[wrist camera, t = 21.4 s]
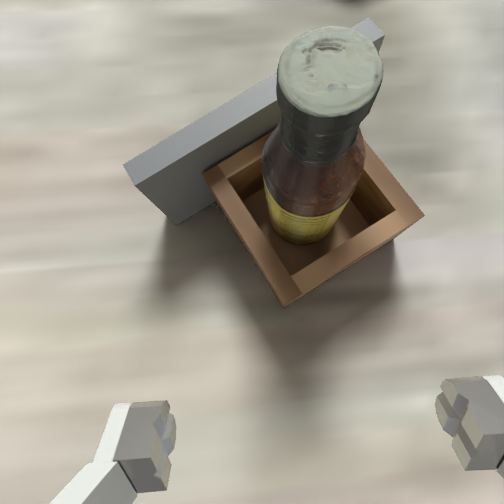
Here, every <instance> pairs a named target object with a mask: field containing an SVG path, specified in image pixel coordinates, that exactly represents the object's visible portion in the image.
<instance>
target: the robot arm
mask: <svg viewBox="0 0 504 504" xmlns="http://www.w3.org/2000/svg"><path fill="white" fill-rule="evenodd" d="M440 387H441V389H442V391H443V392H442V393H441V394H439V395H438V396H437V398H436V402H435V407H436V414H437V417H438V420H439V422H440V424H441V426H442V428H443V430H444V431H446V432H447V433H448V434H450V435H451V436H452V437H453V440H452V447H453V449H454V451H455V453H456V455H457V457H458V459H459V461H460V462H461V464H462V466H463V468H464V470H465V471H469V470H496V469H498V470H497V472H498V473H499V474H500V475H501V476H502V477H503V478H504V378H503V377H501V376H499V375H492V376H481V377H479V376H475V377H465V378H454V379H445V380H444V381H442V384H441V386H440ZM169 410H170V405H169V403H168V401H167V400H165V401H150V402H131V403H118V404H115V406H114V407H113V409H112V410H111V413H110V416H109V419H108V421H107V424H106V427H105V430H104V432H103V435H102V438H101V440H100V443H99V446H98V449H97V451H96V454H95V457H94V460H93V462H92V463H87V464H86V465H85V466H84V467H83V468H82V469H81V471H80V472H79V473H78V474H77V475H76V476H75V477H74V478H73V479H72V480H71V481H70V482H69V483H68V484H67V486H66V487H65V488H64V489H63V490H62V491H61V492H60V493H59V494H58V495H57V496H56V497H55V498H54V499H53V501H52V502H51V503H50V504H132V503H133V501H134V500H135V498H136V497H137V493H144V492H155V491H165V490H167V487H168V481H169V476H170V470H171V463H170V460H169V458H168V456H169V454H170V453H171V452H172V451H173V449H174V447H175V440H176V423H175V418H174V416H173V415H172V414H170V413H169Z"/></svg>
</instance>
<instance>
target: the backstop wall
mask: <svg viewBox="0 0 504 504" xmlns="http://www.w3.org/2000/svg"><path fill="white" fill-rule="evenodd" d="M350 29H354V30H355V31H357V32H359V33H361V34H362V35H364V36H366V37H367V38H368V39H369V40H370V41H372V43H373V44H374V46H375V47H376V49H377V51H378V52H379V50H380V47H381V44H382V41H383V39H384V36H385V34H384V33H383V32H382V31H381V30H380V29H379V28H378V27H377V26H376V24H375V23H374V22H373V21H372V20H371V19H370V18H367V19H365V20H364V21H362V22H360V23H359V24H357V25H355V26H354V27H352V28H350ZM276 84H277V73H275V74H274V75H272V76H270V77H269V78H267V79H265V80H264V81H262V82H260V83H259V84H257V85H255V86H253V87H252V88H250V89H248V90H247V91H245V92H243V93H242V94H240V95H238V96H237V97H235V98H233V99H232V100H230V101H228V102H227V103H225V104H223V105H222V106H220V107H218V108H217V109H215V110H213V111H212V112H210V113H208V114H207V115H205V116H203V117H202V118H200V119H198V120H197V121H195V122H193V123H192V124H190V125H188V126H187V127H185V128H183V129H182V130H180V131H178V132H177V133H175V134H173V135H172V136H170V137H168V138H167V139H165V140H163V141H162V142H160V143H158V144H157V145H155V146H153V147H152V148H150V149H148V150H147V151H145V152H143V153H142V154H140V155H138V156H137V157H135V158H133V159H132V160H130V161H128V162H127V163H125V164H123V166H124V168H125V170H126V171H127V173H128V175H129V177H130V178H131V180H132V182H133V184H134V185H135V186H136V187H137V188H138V189H139V190H140V191H141V192H142V193H143V194H144V195H145V196H146V197H147V198H148V199H149V200H150V201H151V202H153V203H154V204H155V205H156V206H157V207H158V208H159V209H160V210H161V211H162V212H163V213H164V214H165V215H166V216H167V217H168V218H169V219H170V220H172V221H173V222H174V223H175V224H176V225H178V224H180V223H181V222H183V221H185V220H186V219H188V218H189V217H191V216H193V215H194V214H196V213H198V212H199V211H201V210H203V209H204V208H206V207H207V206H209V205H211V204H212V203H214V202H216V199H215V198H214V196H213V194H212V192H211V190H210V188H209V186H208V184H207V182H206V180H205V178H204V177H203V175H202V174H203V173H205V172H206V171H208V170H209V169H211V168H213V167H214V166H216V165H218V164H219V163H221V162H223V161H224V160H226V159H228V158H229V157H231V156H232V155H234V154H236V153H237V152H239V151H241V150H242V149H244V148H246V147H247V146H249V145H251V144H252V143H254V142H256V141H257V140H259V139H260V138H262V137H264V136H265V135H267V134H269V133H270V132H272V131H274V130H275V128H276V127H277V126H278V124H279V121H280V118H281V109H280V107H279V105H278V102H277V95H276Z"/></svg>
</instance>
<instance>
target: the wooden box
mask: <svg viewBox="0 0 504 504" xmlns="http://www.w3.org/2000/svg"><path fill="white" fill-rule="evenodd" d="M272 132H273V131H272ZM272 132H270V133H269V134H267V135H265V136H264V137H262V138H260V139H259V140H257V141H256V142H254V143H252V144H251V145H249V146H247V147H246V148H244V149H242V150H241V151H239V152H237V153H236V154H234V155H232V156H231V157H229V158H228V159H226V160H224V161H223V162H221V163H219V164H218V165H216V166H214V167H213V168H211V169H209V170H208V171H206V172H205V173H203V174H202V175H203V177H204V178H205V180H206V182H207V184H208V186H209V188H210V190H211V192H212V194H213V196H214V198H215V199H216V201H217V203H218V205H219V207H220V208H221V210H222V211H223V213H224V214H225V216H226V218H227V219H228V221H229V222H230V224H231V225H232V227H233V229H234V230H235V232H236V233H237V235H238V237H239V238H240V240H241V241H242V243H243V244H244V246H245V248H246V249H247V251H248V252H249V254H250V255H251V257H252V259H253V260H254V262H255V263H256V265H257V266H258V268H259V270H260V271H261V273H262V274H263V276H264V278H265V279H266V281H267V282H268V284H269V285H270V287H271V289H272V290H273V292H274V293H275V295H276V296H277V298H278V300H279V301H280V303H281V304H282V306H283V308H285V307H287V306H289V305H290V304H292V303H293V302H295V301H296V300H298V299H300V298H301V297H303V296H304V295H306V294H307V293H309V292H311V291H312V290H314V289H315V288H317V287H318V286H320V285H322V284H323V283H325V282H326V281H328V280H330V279H331V278H333V277H334V276H336V275H337V274H339V273H341V272H342V271H344V270H345V269H347V268H348V267H350V266H352V265H353V264H355V263H356V262H358V261H359V260H361V259H363V258H364V257H366V256H367V255H369V254H370V253H372V252H374V251H375V250H377V249H378V248H380V247H381V246H383V245H385V244H386V243H388V242H389V241H391V240H393V239H394V238H395V237H397V236H398V235H399V234H401V233H402V232H403V231H405V230H406V229H407V228H409V227H410V226H411V225H413V224H414V223H415V222H417V221H418V220H419V219H421V218H422V217H424V216H425V215H424V214H423V212H422V211H421V210H420V209H419V207H418V206H417V205H416V204H415V203H414V201H413V200H412V199H411V198H410V196H409V195H408V194H407V193H406V191H405V190H404V189H403V188H402V186H401V185H400V184H399V183H398V181H397V180H396V179H395V178H394V176H393V175H392V174H391V173H390V171H389V170H388V169H387V168H386V166H385V165H384V164H383V163H382V161H381V160H380V159H379V158H378V156H377V155H376V154H375V153H374V151H373V150H372V149H371V148H370V147H369V145H368V144H367V143H366V142H365V140H364V139H363V141H364V143H365V151H366V157H365V163H364V168H363V171H362V175H361V177H360V179H359V181H358V183H357V185H356V188H355V190H354V192H353V194H352V195H351V197H350V199H349V201H348V202H347V204H346V206H345V207H344V209H343V211H342V213H341V214H340V216H339V218H338V219H337V221H336V223H335V224H334V226H333V228H332V229H331V231H330V232H329V233H328V234H327V235H326V236H324V237H323V238H321V239H320V240H318V241H316V242H315V243H313V244H308V245H307V244H296V243H291V242H288V241H286V240H284V239H283V238H282V237H281V236H280V235H279V234H278V233H277V232H276V231H275V229H274V228H273V226H272V224H271V221H270V218H269V213H268V207H267V200H266V195H265V188H264V181H263V174H262V166H261V163H262V153H263V149H264V146H265V144H266V142H267V140H268V138H269V137H270V135H271V134H272Z"/></svg>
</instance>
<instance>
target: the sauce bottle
mask: <svg viewBox="0 0 504 504" xmlns="http://www.w3.org/2000/svg"><path fill="white" fill-rule="evenodd" d="M382 78H383V64H382V59H381V58H380V56H379V53H378V51H377V49H376V47H375V46H374V44H373V43H372V41H370V40H369V39H368V38H367V37H366V36H364V35H362V34H361V33H359V32H357V31H355V30H354V29H350V28H346V27H341V26H326V27H321V28H317V29H314V30H311V31H309V32H307V33H305V34H303V35H301V36H299V37H297V38H295V39H294V40H293V41H292V43H290V44H289V45H288V46H287V47H286V49H285V50H284V52H283V53H282V55H281V58H280V61H279V64H278V69H277V84H276V95H277V102H278V105H279V107H280V109H281V118H280V121H279V124H278V126H277V127H276V128H275V130H274V131H273V132H272V134H271V135H270V137H269V138H268V140H267V142H266V144H265V146H264V149H263V153H262V163H261V166H262V174H263V181H264V188H265V195H266V200H267V207H268V213H269V218H270V221H271V224H272V226H273V228H274V229H275V231H276V232H277V233H278V234H279V235H280V236H281V237H282V238H283V239H284V240H286V241H288V242H291V243H296V244H307V245H308V244H313V243H315V242H316V241H318V240H320V239H321V238H323V237H324V236H326V235H327V234H328V233H329V232H330V231H331V229H332V228H333V226H334V224H335V223H336V221H337V219H338V218H339V216H340V214H341V213H342V211H343V209H344V207H345V206H346V204H347V202H348V201H349V199H350V197H351V195H352V194H353V192H354V190H355V188H356V185H357V183H358V181H359V179H360V177H361V175H362V171H363V168H364V163H365V157H366V151H365V143H364V141H363V136H362V134H361V131H360V128H359V125H360V123H361V121H363V119H364V118H365V117H366V116H367V115H368V114H369V112H370V109H371V107H372V105H373V103H374V101H375V99H376V96H377V94H378V91H379V89H380V86H381V83H382Z"/></svg>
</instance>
